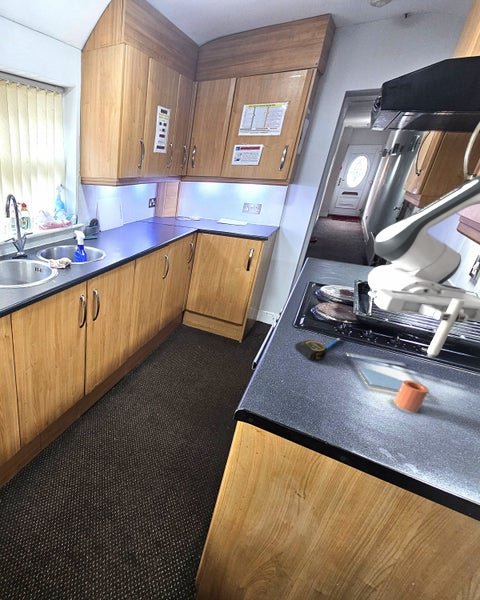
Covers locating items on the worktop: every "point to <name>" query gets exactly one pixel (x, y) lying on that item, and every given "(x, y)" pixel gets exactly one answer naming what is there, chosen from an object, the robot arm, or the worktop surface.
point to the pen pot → (411, 396)
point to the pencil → (332, 343)
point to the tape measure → (311, 349)
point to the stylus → (445, 327)
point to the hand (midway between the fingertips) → (453, 318)
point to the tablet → (381, 376)
